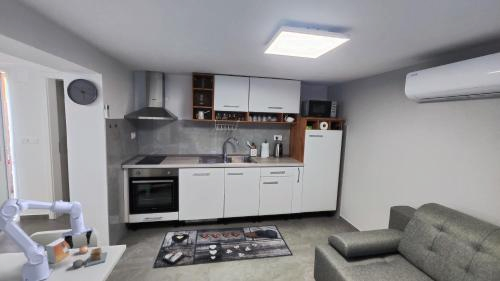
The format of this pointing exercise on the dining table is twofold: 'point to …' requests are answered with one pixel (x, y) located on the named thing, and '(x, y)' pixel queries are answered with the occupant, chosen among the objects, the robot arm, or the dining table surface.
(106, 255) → the slate board
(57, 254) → the small box
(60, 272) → the dining table surface
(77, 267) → the rubber puck
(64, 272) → the dining table surface
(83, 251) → the terracotta cylinder
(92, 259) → the walnut block
